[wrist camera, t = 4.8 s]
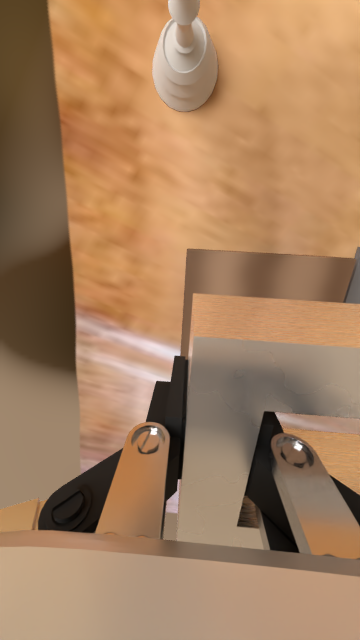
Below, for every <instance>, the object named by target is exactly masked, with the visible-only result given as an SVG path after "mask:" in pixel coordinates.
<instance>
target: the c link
mask: <svg viewBox="0 0 360 640" xmlns="http://www.w3.org/2000/svg"><path fill="white" fill-rule="evenodd" d="M264 411H271V412H283V413H295V414H307V415H319V416H332V417H344V418H356V419H360V304H350V303H334V302H319V301H304V300H288V299H273V298H258V297H242V296H227V295H212V294H196V293H193V302H192V315H191V328H190V341H189V354H188V382H187V411H186V428H185V440H184V452H183V464H182V476H181V479H180V483H179V502H178V520H177V539H176V541H182V542H193V543H203V544H213V545H223V546H233V547H243V548H253V549H262V550H264V548H263V543H262V539H261V535H260V531H259V526H258V522H257V518H256V513H255V504H254V503H253V502H252V501H251V500H250V499H249V498H248V496H244V493H245V489H246V485H247V481H248V476H249V472H250V468H251V464H252V460H253V455H254V451H255V447H256V443H257V438H258V434H259V430H260V426H261V422H262V417H263V413H264ZM282 429H283V431H284V433H287V434H292V435H295V436H297V437H299V438H301V439H303V440H304V441H306V442H307V443H308V444H309V445H310V446H311V447H312V448H313V449H314V450H315V452H316V453H317V455H318V456H319V458H320V460H321V461H322V463H323V465H324V467H325V468H326V470H327V472H328V473H329V474H330V475H331V476H333V477H334V478H335V479H337V480H338V481H340V482H341V483H343V484H344V485H346V486H347V487H349V488H350V489H352V490H353V491H354V492H356V493H357V494H359V495H360V435H358V434H346V433H334V432H322V431H310V430H298V429H286V428H282Z"/></svg>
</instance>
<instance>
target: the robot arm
mask: <svg viewBox="0 0 360 640" xmlns="http://www.w3.org/2000/svg"><path fill="white" fill-rule="evenodd" d="M185 357H186V356H175V357H174V364H173V370H172V377H171V382H164V381H156V384H155V388H154V392H153V396H152V400H151V404H150V408H149V411H148V415H147V419H146V422H145V423H141V424H139V425H137V426H135V427H134V428H133V429H132V430H131V431H130V432H129V434H128V436H127V439H126V442H125V445H124V448H122V449H121V450H119V451H118V452H116V453H114V454H113V455H111V456H110V457H108V458H106V459H105V460H103V461H102V462H100V463H98V464H97V465H95V466H94V467H92V468H91V469H89V470H87V471H86V472H84V473H83V474H81V475H79V476H78V477H76V478H75V479H73V480H71V481H70V482H68V483H67V484H65V485H63V486H62V487H61V488H59V489H58V490H57V491H55V492H54V493H53V494H52V495H51V496H50V498H49V499H46V500H43V501H39V498H36V499H33V500H29V501H26V502H22V503H19V504H16V505H12V506H9V507H5V508H2V509H0V640H360V495H359V494H357V493H356V492H354V491H353V490H352V489H350V488H349V487H347V486H346V485H344V484H343V483H341V482H340V481H338V480H337V479H335V478H334V477H333V476H331V475H330V474H329V473H328V472H327V470H326V468H325V467H324V465H323V463H322V461H321V460H320V458H319V456H318V455H317V453H316V452H315V450H314V449H313V448H312V447H311V446H310V445H309V444H308V443H307V442H306V441H304V440H303V439H301V438H299V437H297V436H295V435H292V434H287V433H284V431H283V429H282V427H281V425H280V423H279V421H278V419H277V416H276V414H275V412H271V411H264V413H263V417H262V422H261V426H260V430H259V434H258V438H257V443H256V447H255V451H254V455H253V460H252V464H251V468H250V472H249V476H248V481H247V485H246V489H245V493H244V496H248V498H249V499H250V500H251V501H252V502H253V503H254V504H255V513H256V518H257V522H258V526H259V531H260V535H261V539H262V543H263V548H264V550H262V549H253V548H243V547H233V546H223V545H213V544H203V543H193V542H182V541H172V540H163V535H164V526H165V515H166V505H167V500H168V499H169V498H170V497H171V496H172V495H173V494H174V493H175V492H176V491H177V483H178V479H181V476H182V464H183V452H184V440H185V428H186V411H187V382H188V360H187V359H185Z"/></svg>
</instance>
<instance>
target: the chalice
mask: <svg viewBox="0 0 360 640" xmlns="http://www.w3.org/2000/svg"><path fill="white" fill-rule="evenodd" d="M168 7H169V12H170V14H171V16H172V19H171V20H169V21H168V22H167V23H166V25H165V27H164V29H163V30H162V32H161V36H160V39H159V42H158V45H157V47H156V51H155V54H154V58H153V79H154V84H155V88H156V90H157V92H158V94H159V96H160V98H161V99H162V100H163V101H164V102H165V103H166V104H167V105H168V106H169V107H171V108H173V109H175V110H177V111H184V112H188V111H191V110H195V109H197V108H199V107H200V106H201V105H202V104H204V103H205V102H206V101H207V99H208V98H209V96H210V95H211V94H212V92H213V89H214V87H215V84H216V81H217V74H218V60H217V53H216V50H215V48H214V46H213V43H212V40H211V38H210V35H209V32H208V30H207V27H206V25H205V24H204V23H203V22H202V21H201V20H200V18H198V17H197V15H198V12H199V8H200V0H168Z"/></svg>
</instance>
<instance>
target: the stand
mask: <svg viewBox="0 0 360 640" xmlns="http://www.w3.org/2000/svg"><path fill="white" fill-rule="evenodd" d="M355 262H356V259H353V258H340V257H325V256H307V255H290V254H272V253H255V252H237V251H220V250H202V249H187V257H186V274H185V290H184V306H183V323H182V339H181V355H180V356H186V357H185V359H187V360H188V354H189V341H190V328H191V315H192V302H193V293H196V294H212V295H227V296H242V297H258V298H273V299H288V300H304V301H319V302H334V303H343V301H344V298H345V294H346V291H347V288H348V285H349V282H350V278H351V275H352V272H353V269H354V266H355Z"/></svg>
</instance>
